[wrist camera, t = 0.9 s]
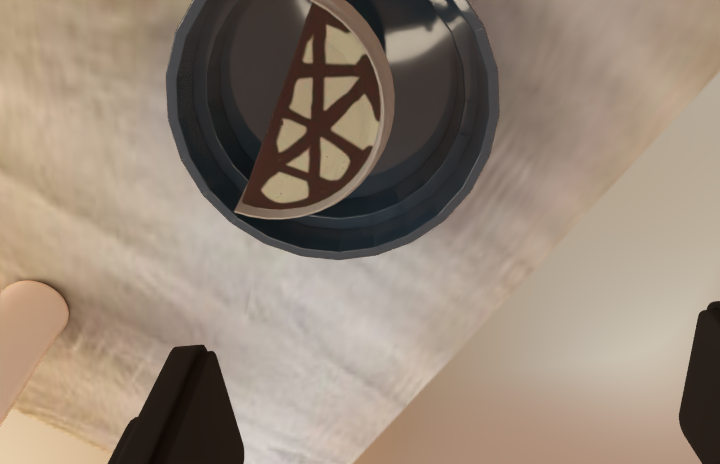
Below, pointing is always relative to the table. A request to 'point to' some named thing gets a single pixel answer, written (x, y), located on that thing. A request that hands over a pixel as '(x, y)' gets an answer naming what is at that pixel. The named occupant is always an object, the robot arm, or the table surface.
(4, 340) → the drinking glass
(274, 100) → the bowl
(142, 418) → the robot arm
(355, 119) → the food container
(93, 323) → the table surface
